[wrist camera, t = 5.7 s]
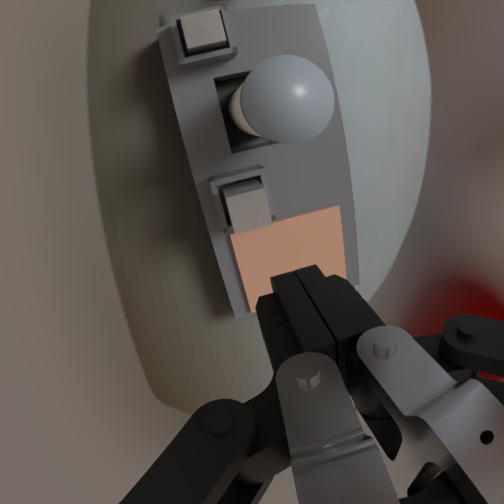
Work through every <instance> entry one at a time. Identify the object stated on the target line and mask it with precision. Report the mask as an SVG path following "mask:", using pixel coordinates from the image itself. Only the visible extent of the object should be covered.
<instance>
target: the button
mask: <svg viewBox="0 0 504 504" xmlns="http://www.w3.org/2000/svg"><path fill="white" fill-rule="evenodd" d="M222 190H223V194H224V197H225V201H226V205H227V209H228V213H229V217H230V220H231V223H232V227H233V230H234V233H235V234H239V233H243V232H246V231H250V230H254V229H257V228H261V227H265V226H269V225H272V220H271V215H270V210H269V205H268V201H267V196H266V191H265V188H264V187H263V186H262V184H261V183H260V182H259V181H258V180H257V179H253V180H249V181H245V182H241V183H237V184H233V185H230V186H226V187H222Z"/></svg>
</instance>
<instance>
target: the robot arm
mask: <svg viewBox="0 0 504 504" xmlns="http://www.w3.org/2000/svg"><path fill="white" fill-rule="evenodd" d="M270 281H271V286H272V290H273V293H270V294H266V295H263V296H259V298H258V301H257V304H256V307H255V309H256V313H257V317H258V320H259V324H260V328H261V331H262V335H263V339H264V342H265V346H266V349H267V352H268V355H269V359H270V362H271V365H272V368H273V372H274V374H273V378H272V380H271V382H270V384H269V385H268V387H267V388H266V389H265V390H264V391H263V392H262V393H260V394H259V395H257V396H256V397H254V398H252V399H250V400H249V401H247V402H245V403H241V402H239V401H236V400H232V399H219V400H214V401H211V402H209V403H206V404H205V405H203V406H201V407H200V408H199V409H198V410H197V411H196V412H195V413H194V414H193V415H192V416H191V418H190V419H189V420H188V421H187V423H186V424H185V425H184V427H183V428H182V429H181V430H180V432H179V433H178V434H177V435H176V437H175V438H174V439H173V440H172V442H171V443H170V444H169V445H168V446H167V448H166V449H165V450H164V451H163V453H162V454H161V455H160V456H159V457H158V459H157V460H156V461H155V462H154V463H153V465H152V466H151V467H150V468H149V469H148V471H147V472H146V473H145V474H144V475H143V476H142V478H141V479H140V480H139V481H138V482H137V484H136V485H135V486H134V487H133V488H132V489H131V490H130V492H129V493H128V494H127V495H126V496H125V497H124V499H123V500H122V501H121V502H120V503H119V504H258V503H259V501H260V500H261V498H262V496H263V495H264V493H265V491H266V490H267V488H268V486H269V485H270V483H271V481H272V480H273V477H274V475H276V474H278V473H280V472H281V471H283V470H285V469H286V468H288V467H289V466H292V472H293V477H294V482H295V487H296V492H297V496H298V501H299V504H504V382H500V381H496V380H492V379H487V378H484V377H479V376H477V374H478V371H480V372H484V373H488V374H493V375H497V376H501V377H504V321H501V320H496V319H491V318H487V317H483V316H478V315H474V314H468V313H462V314H456V315H453V316H451V317H450V318H449V319H447V320H446V321H445V323H444V325H443V329H442V333H438V334H432V335H426V336H420V337H411V336H410V335H409V334H408V333H407V332H406V331H404V330H402V329H400V328H397V327H393V326H386V325H385V324H384V323H383V321H382V320H381V319H380V318H379V317H378V315H377V314H376V313H375V312H374V311H373V309H372V308H371V307H370V306H369V305H368V303H367V302H366V301H365V300H364V299H362V296H361V295H360V294H359V293H358V292H357V291H356V290H355V288H354V287H353V286H352V285H351V283H350V282H349V281H348V280H346V279H344V278H342V277H340V276H338V275H336V274H334V275H330V276H327V277H326V276H325V275H324V274H323V273H322V271H321V270H320V269H319V267H318V266H317V265H316V264H314V265H310V266H307V267H304V268H300V269H297V270H294V271H290V272H286V273H283V274H279V275H276V276H272V277H270ZM349 395H351V397H352V399H353V401H354V403H355V408H354V406H353V403H352V401H351V399H350V396H349ZM363 430H364V431H365V433H366V434H367V435H366V434H365V433H364V431H363ZM397 496H398V497H397ZM398 498H399V499H398Z"/></svg>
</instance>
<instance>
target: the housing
mask: <svg viewBox="0 0 504 504" xmlns="http://www.w3.org/2000/svg"><path fill="white" fill-rule="evenodd" d="M214 9H219V13H220V16H221V20H222V24H223V28H224V32H225V36H226V43H225V46H224V49H221V50H216V51H212V52H207V53H203V54H198V55H194V56H190V57H189V56H188V51H187V47H186V43H185V39H184V35H183V31H182V25H181V19H180V17H182V16H186V15H190V14H195V13H199V12H204V11H209V10H214ZM169 21H170V25H167V26H163V27H160V28H156V32H157V36H158V41H159V45H160V49H161V54H162V58H163V62H164V66H165V71H166V75H167V79H168V83H169V87H170V91H171V95H172V99H173V103H174V107H175V111H176V115H177V119H178V123H179V127H180V130H181V134H182V138H183V142H184V146H185V149H186V153H187V157H188V160H189V164H190V168H191V171H192V175H193V179H194V182H195V186H196V189H197V193H198V196H199V200H200V203H201V207H202V210H203V214H204V217H205V221H206V224H207V228H208V231H209V234H210V238H211V241H212V244H213V248H214V251H215V254H216V258H217V261H218V264H219V268H220V271H221V274H222V277H223V280H224V284H225V287H226V290H227V293H228V296H229V300H230V303H231V306H232V309H233V312H234V315H235V318H236V321H238V320H242V319H246V318H249V317H253V316H257V313H256V309H255V307H256V304H257V301H258V298H259V296H263V295H266V294H270V293H273V290H272V286H271V281H270V277H272V276H276V275H279V274H283V273H286V272H290V271H294V270H297V269H300V268H304V267H307V266H310V265H314V264H316V265H317V266H318V267H319V269H320V270H321V271H322V273H323V274H324V275H325V276H326V277H327V276H330V275H334V274H336V275H338V276H340V277H342V278H344V279H346V280H348V281H349V282H350V283H351V285H352V286H354V285H357V284H359V266H358V249H357V235H356V223H355V212H354V202H353V192H352V184H351V176H350V168H349V161H348V154H347V147H346V140H345V134H344V128H343V122H342V117H341V111H340V106H339V101H338V96H337V91H336V86H335V81H334V77H333V72H332V68H331V63H330V59H329V55H328V51H327V47H326V43H325V39H324V35H323V31H322V28H321V24H320V21H319V17H318V14H317V10H316V7H315V4H303V5H283V6H271V7H261V8H252V9H244V10H237V11H231V12H228V11H227V7H226V4H225V5H219V6H214V7H209V8H204V9H199V10H194V11H190V12H186V13H181V14H177V15H174V16H170V17H169ZM278 55H294V56H299V57H302V58H305V59H307V60H309V61H311V62H312V63H314V64H315V65H316V66H318V67H319V68H320V69H321V70H322V71H323V72H324V74H325V75H326V76H327V78H328V80H329V82H330V84H331V86H332V89H333V93H334V110H333V114H332V117H331V119H330V121H329V123H328V125H327V126H326V128H325V129H324V130H323V131H322V132H321V133H320V134H319V135H317V136H316V137H314V138H313V139H311V140H308V141H306V142H302V143H297V144H285V143H279V142H275V141H270V142H265V143H261V144H256V145H252V146H248V147H243V148H239V149H235V150H231V149H230V145H229V141H228V137H227V132H226V128H225V124H224V120H223V116H222V112H221V108H220V104H219V100H218V96H217V91H216V87H215V83H214V82H218V81H222V80H227V79H231V78H236V77H241V76H247V75H249V73H250V72H251V71H252V70H253V69H254V68H255V67H256V66H257V65H258V64H260V63H261V62H262V61H264V60H266V59H268V58H271V57H274V56H278ZM253 179H257V180H258V181H259V182H260V183H261V184H262V186H263V187H264V188H265V191H266V196H267V201H268V205H269V210H270V215H271V220H272V225H269V226H265V227H261V228H257V229H254V230H250V231H246V232H243V233H239V234H235V233H234V230H233V227H232V223H231V220H230V217H229V213H228V209H227V205H226V201H225V197H224V194H223V190H222V187H226V186H230V185H233V184H237V183H241V182H245V181H249V180H253Z"/></svg>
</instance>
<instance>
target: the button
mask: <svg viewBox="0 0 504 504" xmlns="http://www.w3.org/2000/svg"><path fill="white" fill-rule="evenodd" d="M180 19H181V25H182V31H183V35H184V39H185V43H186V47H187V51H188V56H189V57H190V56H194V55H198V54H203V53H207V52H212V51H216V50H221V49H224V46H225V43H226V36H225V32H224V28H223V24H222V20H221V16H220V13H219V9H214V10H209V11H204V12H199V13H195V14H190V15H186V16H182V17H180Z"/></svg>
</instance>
